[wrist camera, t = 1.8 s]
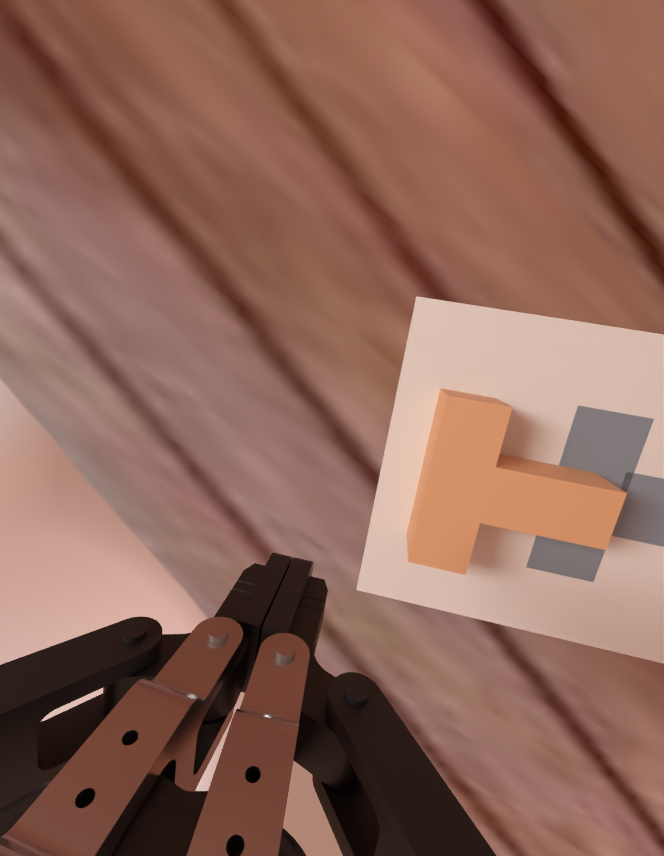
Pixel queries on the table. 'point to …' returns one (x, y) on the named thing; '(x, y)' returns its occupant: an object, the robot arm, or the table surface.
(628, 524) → the board
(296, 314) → the table surface
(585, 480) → the t block
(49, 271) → the table surface
